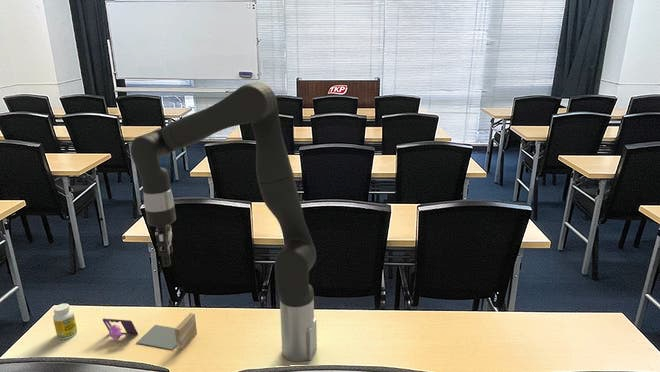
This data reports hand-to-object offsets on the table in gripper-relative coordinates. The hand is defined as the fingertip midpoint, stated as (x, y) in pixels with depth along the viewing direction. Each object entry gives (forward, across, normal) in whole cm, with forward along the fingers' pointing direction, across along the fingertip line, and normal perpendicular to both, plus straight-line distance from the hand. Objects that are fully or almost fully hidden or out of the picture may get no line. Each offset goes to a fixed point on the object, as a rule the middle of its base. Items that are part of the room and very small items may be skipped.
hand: (167, 259), depth 128 cm
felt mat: (+25, 0, +5) cm, 25 cm away
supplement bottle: (+24, +10, +33) cm, 42 cm away
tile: (+25, -4, -2) cm, 26 cm away
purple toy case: (+25, +4, +17) cm, 30 cm away
